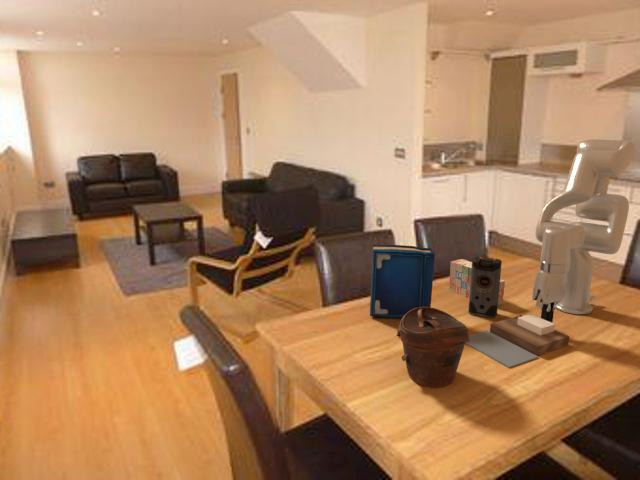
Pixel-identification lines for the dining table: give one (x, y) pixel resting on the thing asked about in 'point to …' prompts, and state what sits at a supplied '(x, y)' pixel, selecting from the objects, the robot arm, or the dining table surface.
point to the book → (400, 279)
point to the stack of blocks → (466, 279)
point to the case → (432, 345)
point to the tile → (536, 324)
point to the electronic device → (484, 286)
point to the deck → (528, 337)
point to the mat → (499, 349)
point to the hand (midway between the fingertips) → (546, 321)
